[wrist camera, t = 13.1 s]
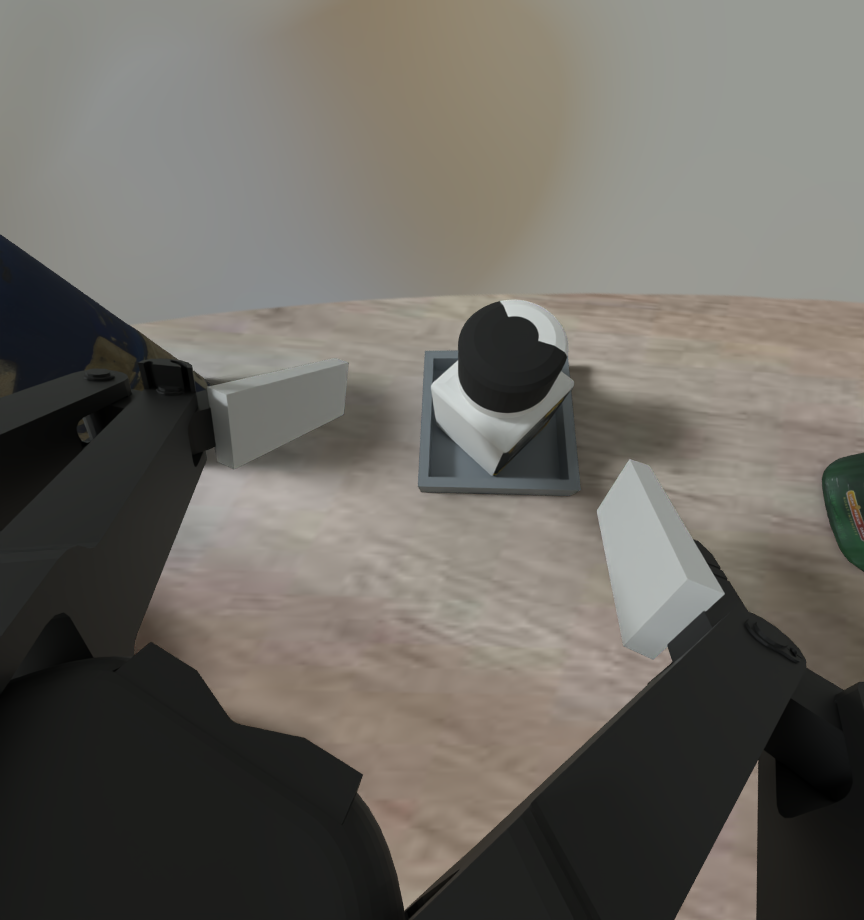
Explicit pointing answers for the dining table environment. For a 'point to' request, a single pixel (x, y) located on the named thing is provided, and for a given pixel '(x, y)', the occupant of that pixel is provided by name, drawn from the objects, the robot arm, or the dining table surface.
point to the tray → (529, 473)
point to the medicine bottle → (503, 381)
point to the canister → (61, 330)
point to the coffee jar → (846, 505)
